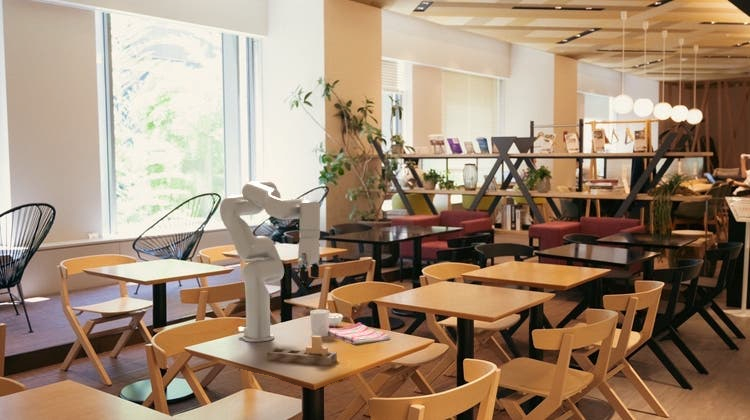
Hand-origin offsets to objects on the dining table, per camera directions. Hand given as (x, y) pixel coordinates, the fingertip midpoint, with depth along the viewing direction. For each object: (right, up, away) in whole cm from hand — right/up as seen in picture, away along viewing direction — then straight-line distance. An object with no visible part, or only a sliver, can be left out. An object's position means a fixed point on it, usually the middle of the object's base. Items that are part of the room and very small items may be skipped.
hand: (309, 279), depth 270 cm
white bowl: (+5, -25, +43) cm, 50 cm away
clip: (+4, -28, -12) cm, 31 cm away
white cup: (+2, -26, +27) cm, 38 cm away
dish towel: (+17, -27, +25) cm, 40 cm away
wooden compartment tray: (-2, -28, -10) cm, 30 cm away
